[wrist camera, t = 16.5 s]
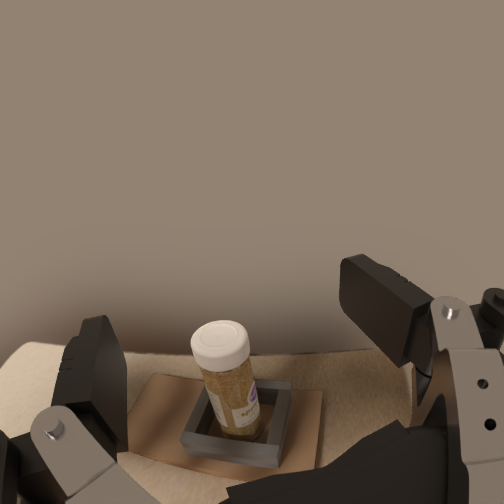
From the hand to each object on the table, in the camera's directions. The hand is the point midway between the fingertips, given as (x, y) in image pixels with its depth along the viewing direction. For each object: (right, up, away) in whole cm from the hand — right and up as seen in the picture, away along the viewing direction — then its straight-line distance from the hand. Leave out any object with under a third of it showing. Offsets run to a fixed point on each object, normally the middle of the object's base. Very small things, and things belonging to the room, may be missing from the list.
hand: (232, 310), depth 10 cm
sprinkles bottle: (0, -17, +19) cm, 25 cm away
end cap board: (-3, -18, +20) cm, 27 cm away
